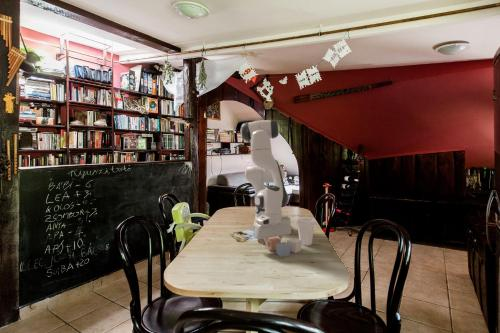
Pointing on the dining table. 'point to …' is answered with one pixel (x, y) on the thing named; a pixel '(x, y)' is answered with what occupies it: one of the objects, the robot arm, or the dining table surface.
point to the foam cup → (305, 229)
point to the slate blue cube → (283, 249)
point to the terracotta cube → (273, 243)
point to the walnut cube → (261, 241)
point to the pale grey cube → (294, 245)
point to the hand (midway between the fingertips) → (273, 244)
